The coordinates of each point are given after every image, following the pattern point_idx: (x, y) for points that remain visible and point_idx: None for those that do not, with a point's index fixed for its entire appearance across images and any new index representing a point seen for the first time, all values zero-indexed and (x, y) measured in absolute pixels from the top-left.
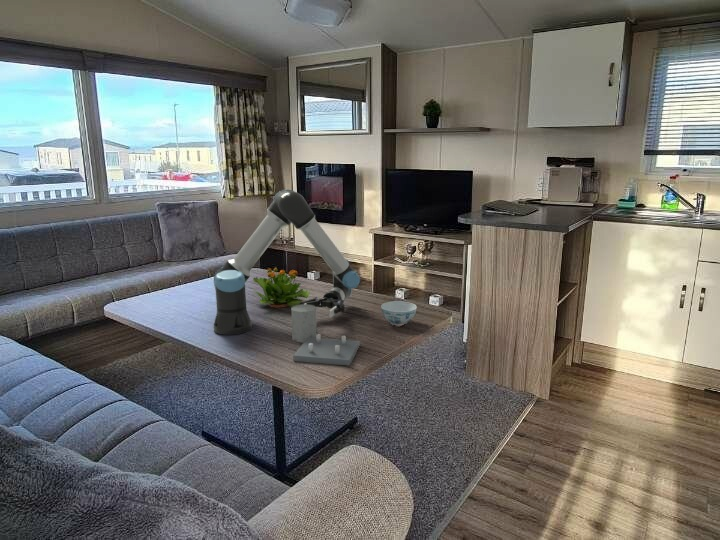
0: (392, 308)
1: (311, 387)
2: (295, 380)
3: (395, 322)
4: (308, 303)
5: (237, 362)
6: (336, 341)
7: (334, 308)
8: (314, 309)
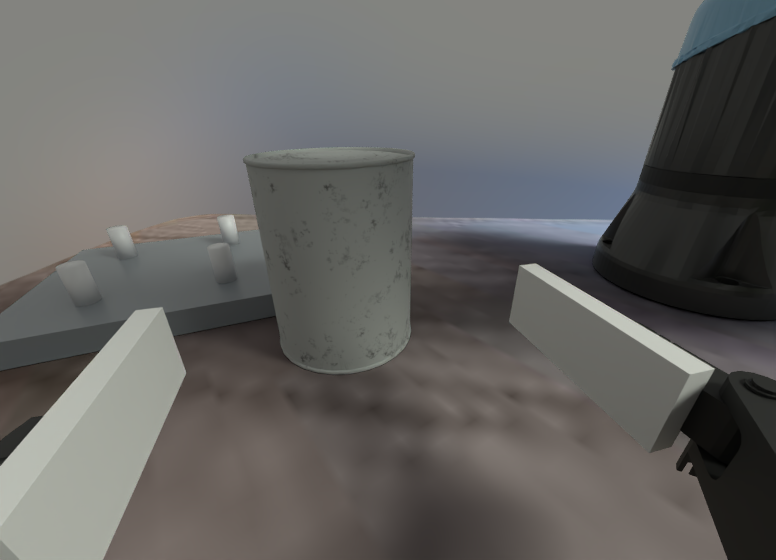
0: None
1: (194, 218)
2: (236, 219)
3: None
4: (754, 443)
5: None
6: (131, 304)
7: (54, 414)
8: (245, 156)
